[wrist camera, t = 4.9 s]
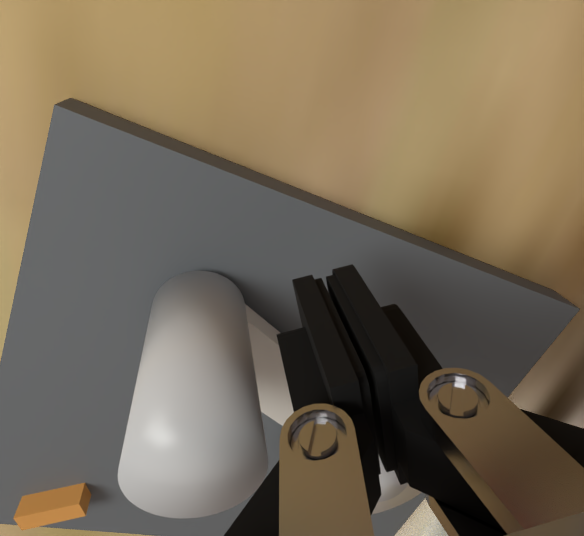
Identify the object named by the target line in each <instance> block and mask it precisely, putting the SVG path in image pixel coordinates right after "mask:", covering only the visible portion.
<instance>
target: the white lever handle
mask: <svg viewBox="0 0 584 536" xmlns="http://www.w3.org/2000/svg"><path fill="white" fill-rule="evenodd" d="M277 334H280V332H279V331H278V330H276V329H275V328H274V327H273V326H272V325H270V324H269V323H268V322H267V321H265V320H264V319H263V318H262V317H261V316H259V315H258V314H257V313H256V312H254V311H253V310H252V309H251V308H250V307H248V306H247V305H246V304H245V302H244V298H243V296H242V293H241V292H240V290H239V289H238V287H237V286H236V285H235V284H234V283H233V282H232V281H230V280H229V279H227V278H226V277H224V276H222V275H219V274H217V273H213V272H209V271H190V272H185V273H182V274H179V275H177V276H174V277H173V278H171V279H169V280H168V281H167V282H165V283H164V284H163V285H162V286H161V287H160V288H159V290H158V291H157V293H156V295H155V297H154V299H153V303H152V307H151V312H150V317H149V322H148V327H147V332H146V337H145V341H144V346H143V351H142V356H141V361H140V366H139V371H138V375H137V380H136V385H135V390H134V395H133V400H132V405H131V409H130V414H129V419H128V424H127V429H126V434H125V438H124V443H123V448H122V453H121V458H120V463H119V468H118V483H119V486H120V489H121V491H122V492H123V494H124V495H125V497H126V498H127V499H128V500H129V501H130V502H131V503H132V504H134V505H135V506H137V507H138V508H140V509H142V510H144V511H146V512H149V513H151V514H154V515H158V516H162V517H168V518H180V519H181V518H199V517H204V516H209V515H213V514H217V513H220V512H223V511H225V510H228V509H230V508H232V507H234V506H236V505H238V504H240V503H241V502H243V501H244V500H246V499H247V498H248V497H250V496H251V495H252V494H253V493H254V492H255V491H256V490H257V489H258V488H259V486H260V485H261V484H262V482H263V480H264V478H265V476H266V473H267V470H268V454H267V448H266V441H265V434H264V428H263V421H262V414H261V412H262V413H264V414H265V415H267V416H268V417H270V418H271V419H273V420H274V421H276V422H277V423H279V424H280V425H282V426H283V425H284V423H285V421H286V420H287V419H288V418H289V417H290V416H291V415H292V414H293V413H294V411H293V406H292V402H291V397H290V393H289V388H288V384H287V380H286V375H285V371H284V366H283V362H282V357H281V353H280V348H279V344H278V339H277ZM378 455H379V454H378ZM379 462H380V470H381V474H380V475H379V480H380V487H381V496H380V498H379V500H378V502H377V504H376V506H375V508H374V511H373V513H372V514H376V513H380V512H383V511H386V510H389V509H392V508H394V507H397V506H399V505H401V504H403V503H405V502H407V501H409V500H411V499H413V498H414V497H416V496H417V495H419V494H420V493H422V492H420V491H418V490H416V489H414V488H412V487H410V486H409V484H408V483H405V484H402V485H400V483H399V481H398V478H397V476H396V474H395V471H394V470H393V471H390V472H386V470H385V469H384V466H383V464H382V461H381V459H380V457H379Z"/></svg>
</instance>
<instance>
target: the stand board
mask: <svg viewBox="0 0 584 536" xmlns="http://www.w3.org/2000/svg"><path fill="white" fill-rule="evenodd" d="M351 264H353V265H354V266H355V268H356V269H357V271H358V273H359V274H360V276H361V277H362V279H363V280H364V282H365V283H366V285H367V287H368V288H369V290H370V291H371V293H372V294H373V296H374V298H375V299H376V301H377V302H378V304H379V305H380V307H383V306H387V305H391V304H397V305H398V306H399V308H400V309H401V310H402V312H403V313H404V315H405V316H406V317H407V319H408V320H409V322H410V323H411V324H412V326H413V327H414V329H415V330H416V331H417V333H418V334H419V336H420V337H421V339H422V340H423V341H424V343H425V344H426V346H427V347H428V348H429V350H430V351H431V353H432V354H433V355H434V357H435V358H436V360H437V361H438V362H439V364H440V365H441V367H442V368H443V369H444V368H461V369H467V370H470V371H473V372H475V373H478V374H480V375H481V376H483V377H484V378H486V379H487V380H489V381H490V382H491V383H492V384H493V385H494V386H495V387H496V388H497V389H498V390H500V391H501V392H502V393H503V394H504V395H505V396H506V397H507V398H508V396H509V395H510V394H511V393H512V391H513V390H514V389H515V388H516V387H517V385H518V384H519V383H520V382H521V380H522V379H523V378H524V377H525V376H526V374H527V373H528V372H529V371H530V370H531V368H532V367H533V366H534V365H535V363H536V362H537V361H538V360H539V359H540V357H541V356H542V355H543V354H544V352H545V351H546V350H547V349H548V348H549V346H550V345H551V344H552V343H553V342H554V340H555V339H556V338H557V337H558V335H559V334H560V333H561V332H562V331H563V329H564V328H565V327H566V326H567V324H568V323H569V322H570V321H571V320H572V318H573V317H574V316H575V315H576V314H577V312H578V311H579V310H580V309H579V308H578V307H576V306H575V305H574V304H572V303H571V302H569V301H568V300H567V299H565V298H564V297H562V296H561V295H560V294H558V293H557V292H555V291H554V290H551V289H549V288H546V287H544V286H541V285H539V284H536V283H534V282H531V281H529V280H526V279H524V278H521V277H519V276H516V275H514V274H511V273H509V272H506V271H504V270H501V269H499V268H496V267H494V266H491V265H489V264H486V263H484V262H481V261H479V260H476V259H474V258H471V257H469V256H466V255H464V254H461V253H459V252H456V251H454V250H451V249H449V248H446V247H444V246H441V245H439V244H436V243H434V242H431V241H428V240H426V239H423V238H421V237H418V236H416V235H413V234H411V233H408V232H406V231H403V230H401V229H398V228H396V227H393V226H391V225H388V224H386V223H383V222H381V221H378V220H376V219H373V218H371V217H368V216H366V215H363V214H361V213H358V212H356V211H353V210H351V209H348V208H346V207H343V206H341V205H338V204H336V203H333V202H331V201H328V200H326V199H323V198H321V197H318V196H316V195H313V194H311V193H308V192H306V191H303V190H301V189H298V188H296V187H293V186H291V185H288V184H286V183H283V182H281V181H278V180H276V179H273V178H271V177H268V176H266V175H263V174H261V173H258V172H256V171H253V170H251V169H248V168H246V167H243V166H240V165H238V164H235V163H233V162H230V161H228V160H225V159H223V158H220V157H218V156H215V155H213V154H210V153H208V152H205V151H203V150H200V149H198V148H195V147H193V146H190V145H188V144H185V143H183V142H180V141H178V140H175V139H173V138H170V137H168V136H165V135H163V134H160V133H158V132H155V131H153V130H150V129H148V128H145V127H143V126H140V125H138V124H135V123H133V122H130V121H128V120H125V119H123V118H120V117H118V116H115V115H113V114H110V113H108V112H105V111H103V110H100V109H98V108H95V107H93V106H90V105H88V104H85V103H83V102H80V101H78V100H75V99H73V98H69V99H67V100H64V101H62V102H60V103H57V104H55V105H54V109H53V114H52V118H51V123H50V128H49V133H48V138H47V142H46V147H45V152H44V157H43V161H42V166H41V171H40V176H39V181H38V185H37V190H36V195H35V200H34V205H33V209H32V214H31V219H30V224H29V228H28V233H27V238H26V243H25V248H24V252H23V257H22V262H21V267H20V271H19V276H18V281H17V286H16V291H15V295H14V300H13V305H12V310H11V314H10V319H9V324H8V329H7V334H6V338H5V343H4V348H3V353H2V358H1V362H0V524H11V525H18V526H19V527H20V529H21V530H26V529H30V528H35V527H50V528H64V529H77V530H90V531H103V532H117V533H130V534H143V535H156V536H224V534H225V533H226V532H227V530H228V529H229V528H230V526H231V525H232V523H233V522H234V521H235V519H236V518H237V517H238V515H239V514H240V513H241V511H242V510H243V508H244V507H245V506H246V504H247V503H248V502H249V500H250V499H251V498H252V496H253V495H254V493H255V492H256V491H257V490H256V491H255V492H254V493H253V494H252V495H251V496H250V497H248V498H247V499H246V500H244V501H243V502H241V503H240V504H238V505H236V506H234V507H232V508H230V509H228V510H225V511H223V512H220V513H217V514H213V515H209V516H204V517H199V518H181V519H180V518H168V517H162V516H158V515H154V514H151V513H149V512H146V511H144V510H142V509H140V508H138V507H137V506H135V505H134V504H132V503H131V502H130V501H129V500H128V499H127V498H126V497H125V495H124V494H123V492H122V491H121V489H120V486H119V483H118V468H119V463H120V458H121V453H122V448H123V443H124V438H125V434H126V429H127V424H128V419H129V414H130V409H131V405H132V400H133V395H134V390H135V385H136V380H137V375H138V371H139V366H140V361H141V356H142V351H143V346H144V341H145V337H146V332H147V327H148V322H149V317H150V312H151V307H152V303H153V299H154V297H155V295H156V293H157V291H158V290H159V288H160V287H161V286H162V285H163V284H164V283H165V282H167V281H168V280H169V279H171V278H173V277H174V276H177V275H179V274H182V273H185V272H190V271H209V272H213V273H217V274H219V275H222V276H224V277H226V278H227V279H229V280H230V281H232V282H233V283H234V284H235V285H236V286H237V287H238V289H239V290H240V292H241V293H242V296H243V298H244V302H245V304H246V305H247V306H248V307H250V308H251V309H252V310H253V311H254V312H256V313H257V314H258V315H259V316H261V317H262V318H263V319H264V320H265V321H267V322H268V323H269V324H270V325H272V326H273V327H274V328H275V329H276V330H278V331H279V332H280V333H284V332H288V331H291V330H295V329H299V328H302V323H301V319H300V314H299V310H298V305H297V301H296V296H295V292H294V287H293V282H292V279H296V278H300V277H304V276H308V275H313V277H314V279H318V278H322V280H323V282H324V284H325V286H326V289H327V291H328V288H327V282H326V276H330V275H332V270H333V269H336V268H339V267H343V266H347V265H351ZM261 414H262V421H263V428H264V434H265V441H266V448H267V454H268V470H267V473H266V476H265V478H266V477H267V476H268V474H269V473H270V472H271V470H272V469H273V467H274V466H275V465H276V463H277V462H278V461H279V445H280V434H281V429H282V427H283V426H282V425H280V424H279V423H277V422H276V421H274V420H273V419H271V418H270V417H268V416H267V415H265V414H264V413H262V412H261ZM265 478H264V480H265ZM264 480H263V481H264ZM259 487H260V486H259ZM424 499H425V493H423V492H422V493H420V494H419V495H417V496H416V497H414V498H413V499H411V500H409V501H407V502H405V503H403V504H401V505H399V506H397V507H394V508H392V509H389V510H386V511H383V512H380V513H376V514H372V515H371V521H372V526H373V532H374V536H394V535H395V534H396V533H397V531H398V530H399V529H400V528H401V527H402V525H403V524H404V523H405V522H406V520H407V519H408V518H409V517H410V516H411V514H412V513H413V512H414V511H415V509H416V508H417V507H418V506H419V505H420V503H421V502H422V501H423V500H424Z"/></svg>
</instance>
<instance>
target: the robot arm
mask: <svg viewBox="0 0 584 536" xmlns="http://www.w3.org/2000/svg"><path fill="white" fill-rule="evenodd" d="M292 282H293V287H294V292H295V296H296V301H297V305H298V310H299V314H300V319H301V323H302V328H299V329H295V330H291V331H288V332H284V333H280V334H277V339H278V344H279V348H280V353H281V357H282V362H283V366H284V371H285V375H286V380H287V384H288V388H289V393H290V397H291V402H292V406H293V411H294V413H293V414H292V415H291V416H290V417H289V418H288V419H287V420H286V421H285V423H284V425H283V427H282V429H281V434H280V445H279V461H278V462H277V463H276V465H275V466H274V467H273V469H272V470H271V472H270V473H269V474H268V476H267V477H266V478H265V480H264V481H263V482H262V484H261V485H260V487H259V488H258V489H257V491H256V492H255V493H254V495H253V496H252V498H251V499H250V500H249V502H248V503H247V504H246V506H245V507H244V508H243V510H242V511H241V513H240V514H239V515H238V517H237V518H236V519H235V521H234V522H233V523H232V525H231V526H230V528H229V529H228V530H227V532H226V533H225V534H224V536H374V532H373V526H372V521H371V515H372V513H373V511H374V508H375V506H376V504H377V502H378V500H379V498H380V496H381V487H380V480H379V475H380V474H381V470H380V462H379V457H380V459H381V461H382V464H383V466H384V469H385V470H386V472H390V471H393V470H394V471H395V474H396V476H397V478H398V481H399V483H400V485H402V484H405V483H408V484H409V486H410V487H412V488H414V489H416V490H418V491H420V492H423V493H425V498H426V500H427V502H428V504H429V506H430V508H431V509H432V511H433V512H434V514H435V515H436V517H437V519H438V520H439V522H440V523H441V525H442V526H443V528H444V529H445V531H446V532H447V534H448V535H449V536H584V429H582V428H579V427H576V426H573V425H570V424H566V423H563V422H560V421H557V420H554V419H550V418H547V417H544V416H541V415H538V414H535V413H531V412H528V411H525V410H522V409H519V408H518V407H517V406H516V405H515V404H514V403H513V402H512V401H510V400H509V399H508V398H507V397H506V396H505V395H504V394H503V393H502V392H501V391H500V390H498V389H497V388H496V387H495V386H494V385H493V384H492V383H491V382H490V381H489V380H487V379H486V378H484V377H483V376H481V375H480V374H478V373H475V372H473V371H470V370H467V369H461V368H444V369H443V368H442V367H441V365H440V364H439V362H438V361H437V360H436V358H435V357H434V355H433V354H432V353H431V351H430V350H429V348H428V347H427V346H426V344H425V343H424V341H423V340H422V339H421V337H420V336H419V334H418V333H417V331H416V330H415V329H414V327H413V326H412V324H411V323H410V322H409V320H408V319H407V317H406V316H405V315H404V313H403V312H402V310H401V309H400V308H399V306H398V305H397V304H391V305H387V306H383V307H380V305H379V304H378V302H377V301H376V299H375V298H374V296H373V294H372V293H371V291H370V290H369V288H368V287H367V285H366V283H365V282H364V280H363V279H362V277H361V276H360V274H359V273H358V271H357V269H356V268H355V266H354V265H353V264H351V265H347V266H343V267H339V268H336V269H333V270H332V275H330V276H326V282H327V288H328V291H327V289H326V286H325V284H324V282H323V280H322V278H318V279H314V277H313V275H308V276H304V277H300V278H296V279H292ZM378 454H379V455H378Z"/></svg>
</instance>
